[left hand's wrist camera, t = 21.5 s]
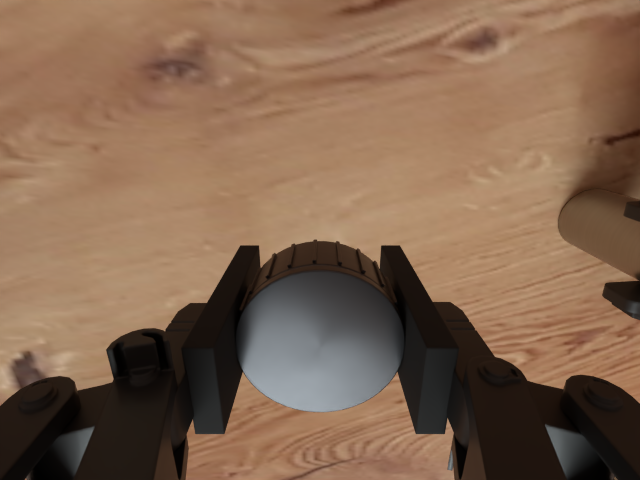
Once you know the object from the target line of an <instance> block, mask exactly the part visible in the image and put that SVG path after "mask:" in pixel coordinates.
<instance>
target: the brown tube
mask: <svg viewBox="0 0 640 480" xmlns="http://www.w3.org/2000/svg"><path fill="white" fill-rule="evenodd" d="M630 201H640V200H638V199H635V198H631V197H628V196H624V195H621V194H617V193H614V192H610V191H607V190H603V189H591V190H587V191H584V192H581V193H579V194H578V195H576V196H574V197H573V198H572V199H571V200H570V201H569V202H568V203H567V204H566V205H565V206H564V208H563V210H562V211H561V214H560V216H559V221H558V228H559V232H560V234H561V236H562V238H563V239H564V240H565V241H567V242H568V243H570V244H572V245H574V246H576V247H578V248H579V249H581V250H583V251H585V252H587V253H589V254H591V255H592V256H594V257H596V258H598V259H600V260H602V261H604V262H606V263H607V264H609V265H611V266H613V267H615V268H617V269H619V270H620V271H622V272H624V273H626V274H628V275H630V276H632V277H634V278H635V279H637V280H639V281H640V222H638V221H636V220H633V219H630V218H627V217H625V216H623V214H624V210H625V207H626V203H627V202H630Z"/></svg>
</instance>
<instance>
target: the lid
mask: <svg viewBox="0 0 640 480" xmlns="http://www.w3.org/2000/svg"><path fill="white" fill-rule="evenodd" d="M397 304H398V302H397V299H396V297H395V294H394V292H393V289H392V287H391V284H390V281H389V279H388V277H385V276H384V275H383V273H382V271H381V270H380V269H379V267H378V264H377V262H376V261H374V262H373V261H372V260H371V259H370V258H368V257H367V256H366V255H364V254H363V253H361V251H360V249H358V248H357V250H356V249H354V248H351V247H349V246H346V245H343V244H340V243H339V242H338V241H336V243H334V242H327V241H317V240H314V242H305V243H301V244H297V245H295V244H292V245H291V247H289V248H286V249H285V250H283V251H281V252H279V253H277V254H275V253H274V254H273V255H272V258H271V259H270V260H268V261H267V262H266V263H265V264H264V265H263V267H262V268H260V267H259V268H258V270H257V272H256V275H255V277H254V280H253V283H252V284H249V287H248V289H247V292H246V294H245V296H244V299H243V301H242V304H241V306H240V309H239V311H238V312H239V313H241V314H240V317H239V319H238V322H237V325H236V330H235V346H236V355H237V359H238V362H239V364H240V367H241V369H242V371H243V372H244V374H245V376H246V377H247V378H248V380H249V381H250V382H251V383H252V385H253V386H255V387H256V388H257V389H258V390H259V391H260V392H261V393H263V394H264V395H265V396H267V397H268V398H270V399H272V400H273V401H275V402H277V403H280V404H282V405H284V406H287V407H290V408H293V409H297V410H302V411H309V412H331V411H338V410H343V409H347V408H350V407H354V406H356V405H359V404H361V403H363V402H365V401H367V400H369V399H370V398H372V397H374V396H375V395H376V394H378V393H379V392H380V391H382V390H383V389H384V388H385V387H386V386H387V385H388V384H389V382H390V381H391V380H392V379H393V378H394V376H395V374H396V373H397V371H398V369H399V367H400V365H401V362H402V359H403V356H404V349H405V330H404V325H403V321H402V319H401V316H400V314H399V311H398V308H397V306H396V305H397Z"/></svg>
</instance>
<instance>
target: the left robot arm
mask: <svg viewBox="0 0 640 480" xmlns="http://www.w3.org/2000/svg"><path fill="white" fill-rule="evenodd" d="M259 267H260V255H259V246H240V247H239V249H238V251H237V252H236V254H235V256H234V258H233V259H232V261H231V263H230V264H229V266H228V268H227V270H226V271H225V273H224V275H223V276H222V278H221V280H220V282H219V283H218V285H217V287H216V289H215V290H214V292H213V294H212V295H211V297H210V299H209V301H208V302H207V303H190V304H188V305H187V306H185V307H184V308H183V309H181V310H180V311H178V313H177V314H176V315H175V317H174V318H173V320H172V321H171V323H170V324H169V325H168V327H167V328H166V331H163V330H160V329H155V328H150V329H141V330H136V331H132V332H130V333H128V334H125V335H123V336H121V337H119V338H118V339H116V340H115V341H114V342H112V343H111V344H110V346H109V347H108V348H107V349H106V351H107V355H108V359H109V362H110V366H111V370H112V374H113V378H114V380H113V382H112V383H109V384H105V385H101V386H97V387H92V388H88V389H83V390H79V391H77V388H76V385H75V382H74V381H73V380H72V379H70V378H69V377H62V376H58V377H50V378H46V379H42V380H39V381H36V382H34V383H32V384H30V385H28V386H26V387H24V388H22V389H20V390H19V391H17V392H16V393H15V394H14V395H12V396H11V397H10V398H8V399H7V400H6V401H5V402H4V403H3V404H2V405H1V406H0V480H25V478H26V479H27V480H185V479H186V469H187V459H188V449H189V448H188V441H187V435H186V434H187V432H188V429H189V427H190V424H191V422H192V419H193V422H194V428H195V434H225V430H226V427H227V423H228V420H229V417H230V413H231V410H232V406H233V403H234V399H235V396H236V393H237V389H238V386H239V382H240V379H241V376H242V372H243V371H242V369H241V367H240V364H239V362H238V359H237V355H236V346H235V330H236V325H237V322H238V319H239V317H240V314H241V313H239V312H238V311H239V309H240V306H241V304H242V301H243V299H244V296H245V294H246V292H247V289H248V287H249V284H252V283H253V280H254V277H255V275H256V272H257V270H258V268H259ZM380 270H381V271H382V273H383V275H384V276H385V277H388V279H389V281H390V284H391V287H392V289H393V292H394V294H395V297H396V299H397V302H398V304H397V305H396V306H397V308H398V311H399V314H400V316H401V319H402V321H403V325H404V330H405V349H404V356H403V359H402V362H401V365H400V367H399V369H398V371H397V372H398V375H399V378H400V382H401V385H402V389H403V392H404V395H405V399H406V402H407V406H408V409H409V412H410V416H411V419H412V423H413V426H414V429H415V433H416V434H445V429H446V423H447V418H448V420H449V422H450V424H451V427H452V429H453V432H454V435H453V441H452V446H451V452H450V457H449V463H448V470H452V469H453V468H454V478H455V480H614V477H616V478H617V479H618V480H640V403H638V402H637V401H636V400H635V399H634V398H633V397H632V396H631V395H629V394H628V393H627V392H625V391H624V390H623V389H621V388H620V387H618V386H616V385H614V384H612V383H610V382H608V381H606V380H603V379H600V378H597V377H594V376H587V375H576V376H571V377H570V378H569V379H567V380H566V383H565V386H564V389H559V388H555V387H550V386H546V385H541V384H537V383H533V382H530V381H527V379H526V378H525V376H524V375H523V373H522V372H521V371H520V370H519V369H518V368H517V367H515V366H514V365H513V364H511V363H509V362H507V361H505V360H503V359H501V358H497V357H495V356H494V355H493V353H492V352H491V351H490V349H489V348H488V346H487V345H486V344H485V342H484V341H483V339H482V338H481V336H480V335H479V334H478V332H477V331H476V330H475V328H474V326H473V325H472V324H471V322H469V319H468V318H467V317H466V315H465V314H464V312H463V311H462V310H461V309H459V308H458V307H457V306H455V305H454V304H452V303H451V302H432V300H431V298H430V297H429V295H428V293H427V292H426V290H425V288H424V286H423V285H422V283H421V281H420V280H419V278H418V276H417V274H416V273H415V271H414V269H413V267H412V266H411V264H410V262H409V261H408V259H407V257H406V255H405V254H404V252H403V250H402V249H401V247H400V246H381V258H380Z"/></svg>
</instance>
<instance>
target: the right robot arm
mask: <svg viewBox="0 0 640 480" xmlns="http://www.w3.org/2000/svg"><path fill="white" fill-rule="evenodd" d="M623 216H625V217H627V218H630V219H633V220H636V221H638V222H640V201H630V202H627V203H626V207H625V210H624V214H623ZM602 296H603V297H604V298H606V299H607V300H609V301H610V302H612V305H614V306H616V307H617V308H619V309H620V310H622V311H623V312H625V313H626V314H628V315H629V316H631V317H632V318H635V319H638V320H640V281H628V282H610V283H606V284H605V286H604V290H603V294H602Z"/></svg>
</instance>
